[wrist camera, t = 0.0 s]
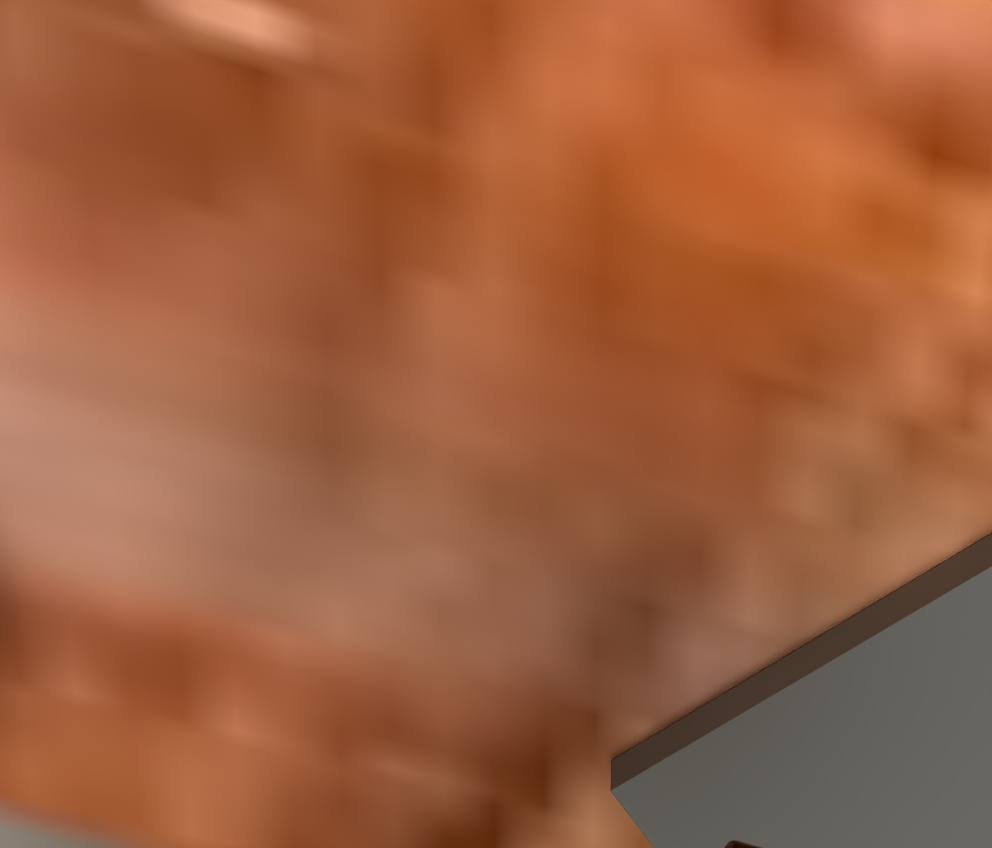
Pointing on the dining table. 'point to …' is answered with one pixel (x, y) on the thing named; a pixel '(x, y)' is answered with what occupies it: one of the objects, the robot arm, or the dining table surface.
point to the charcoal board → (841, 735)
